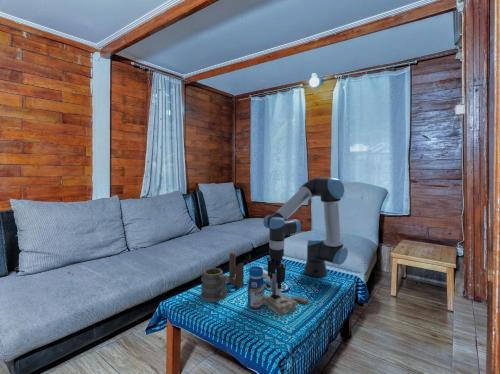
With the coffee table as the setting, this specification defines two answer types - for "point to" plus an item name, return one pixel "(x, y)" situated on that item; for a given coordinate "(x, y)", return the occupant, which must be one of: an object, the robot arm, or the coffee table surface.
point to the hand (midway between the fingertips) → (275, 292)
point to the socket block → (280, 303)
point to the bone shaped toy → (265, 275)
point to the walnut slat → (300, 300)
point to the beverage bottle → (255, 289)
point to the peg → (274, 286)
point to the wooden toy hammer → (235, 272)
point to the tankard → (213, 285)
